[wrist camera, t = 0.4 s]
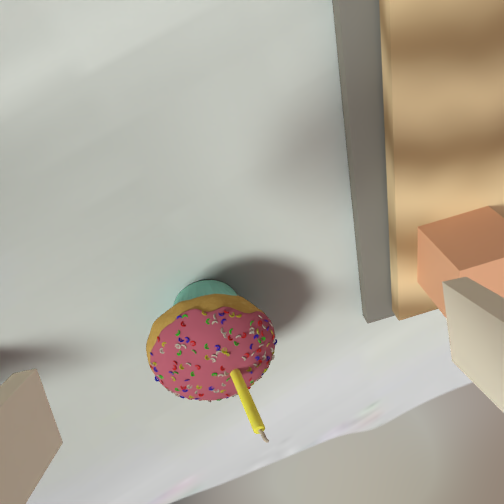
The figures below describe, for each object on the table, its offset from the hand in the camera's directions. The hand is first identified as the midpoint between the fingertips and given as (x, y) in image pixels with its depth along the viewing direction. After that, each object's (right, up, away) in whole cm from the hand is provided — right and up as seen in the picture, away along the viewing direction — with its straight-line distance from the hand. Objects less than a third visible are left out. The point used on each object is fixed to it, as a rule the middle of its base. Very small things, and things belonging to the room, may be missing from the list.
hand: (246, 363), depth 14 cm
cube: (+14, +4, +17) cm, 23 cm away
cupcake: (-3, 0, +20) cm, 20 cm away
